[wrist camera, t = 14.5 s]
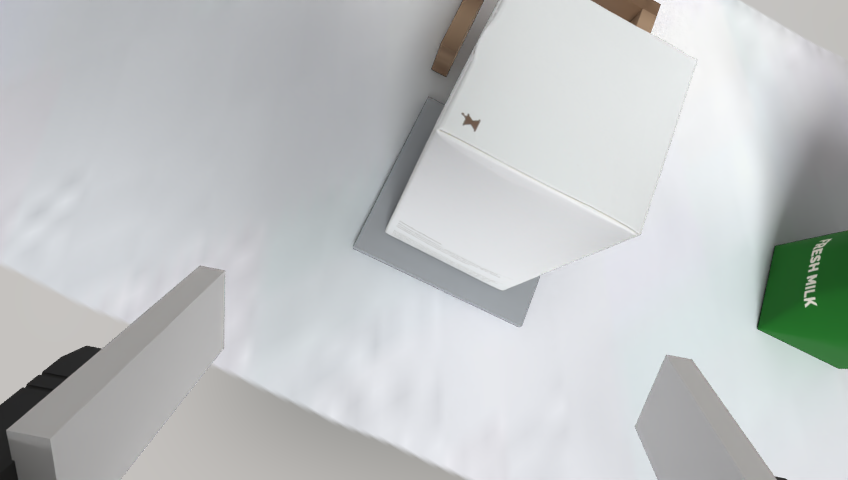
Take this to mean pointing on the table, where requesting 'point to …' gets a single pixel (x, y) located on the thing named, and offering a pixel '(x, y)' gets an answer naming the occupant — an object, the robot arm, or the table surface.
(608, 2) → the walnut cradle
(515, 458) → the table surface
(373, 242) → the slate mat
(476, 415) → the table surface
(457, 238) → the supplement box
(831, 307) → the milk carton
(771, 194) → the table surface
